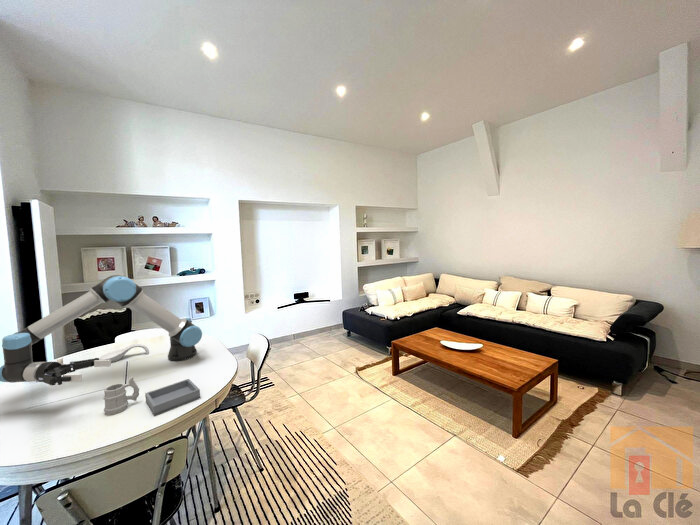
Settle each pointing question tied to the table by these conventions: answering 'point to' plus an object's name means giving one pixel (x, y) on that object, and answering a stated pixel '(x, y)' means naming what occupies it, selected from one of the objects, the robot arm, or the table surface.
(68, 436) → the table surface
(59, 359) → the architectural model
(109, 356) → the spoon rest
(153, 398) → the box
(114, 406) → the mug
